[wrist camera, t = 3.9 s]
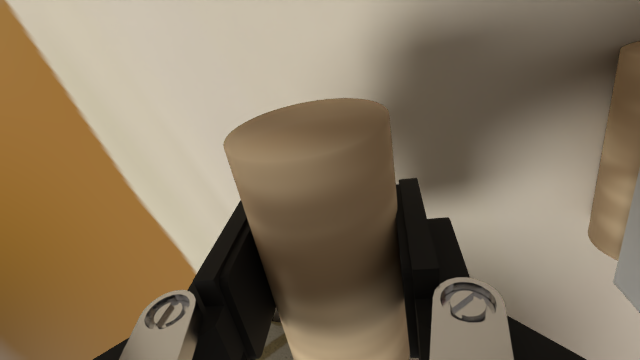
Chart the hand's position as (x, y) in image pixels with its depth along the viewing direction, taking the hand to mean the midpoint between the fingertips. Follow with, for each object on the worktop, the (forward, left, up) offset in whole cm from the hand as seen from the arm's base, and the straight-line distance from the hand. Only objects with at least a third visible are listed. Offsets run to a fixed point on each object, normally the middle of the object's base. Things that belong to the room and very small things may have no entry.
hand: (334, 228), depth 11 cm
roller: (0, 0, -1) cm, 1 cm away
